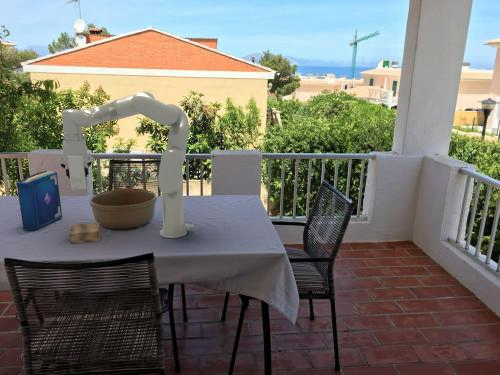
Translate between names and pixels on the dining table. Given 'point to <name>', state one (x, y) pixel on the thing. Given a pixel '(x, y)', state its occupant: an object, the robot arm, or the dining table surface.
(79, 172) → the skincare box
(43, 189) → the book
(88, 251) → the dining table surface
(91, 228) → the tan flat block
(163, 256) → the dining table surface
